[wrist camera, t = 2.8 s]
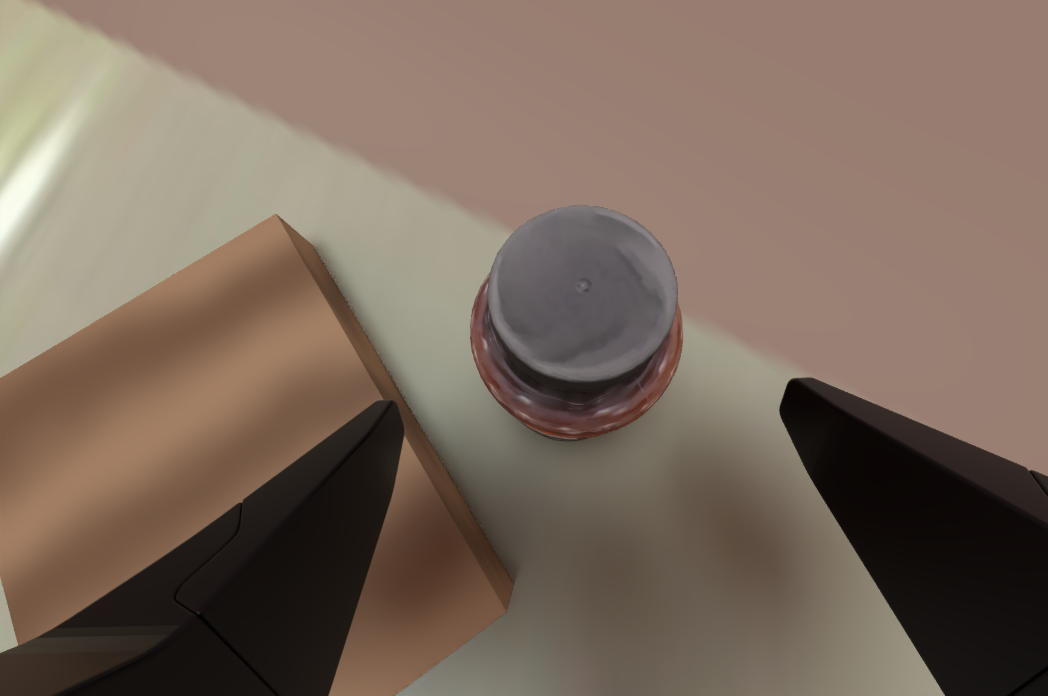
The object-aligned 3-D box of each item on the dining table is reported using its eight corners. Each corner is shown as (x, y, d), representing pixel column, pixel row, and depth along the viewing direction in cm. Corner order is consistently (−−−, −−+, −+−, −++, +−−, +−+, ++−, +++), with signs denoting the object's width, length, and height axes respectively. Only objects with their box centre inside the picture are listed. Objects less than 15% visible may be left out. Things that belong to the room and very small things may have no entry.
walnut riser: (513, 584, 17) (506, 611, 14) (176, 834, 15) (90, 923, 13) (312, 245, 22) (275, 213, 19) (40, 411, 20) (-45, 404, 17)
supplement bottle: (555, 297, 20) (563, 115, 9) (652, 370, 19) (795, 261, 8) (478, 386, 19) (383, 303, 8) (574, 469, 18) (613, 501, 7)
